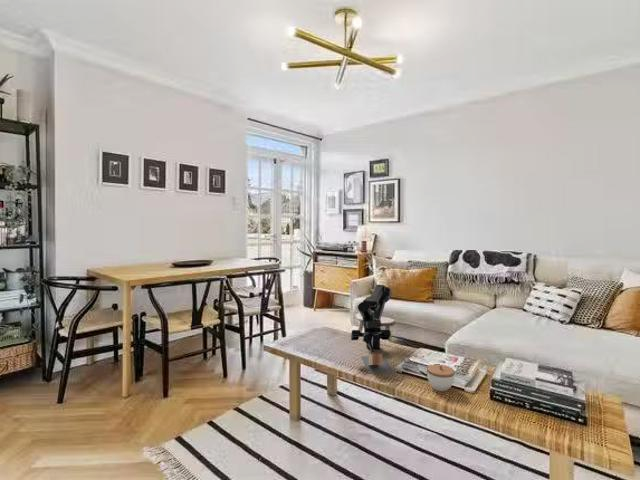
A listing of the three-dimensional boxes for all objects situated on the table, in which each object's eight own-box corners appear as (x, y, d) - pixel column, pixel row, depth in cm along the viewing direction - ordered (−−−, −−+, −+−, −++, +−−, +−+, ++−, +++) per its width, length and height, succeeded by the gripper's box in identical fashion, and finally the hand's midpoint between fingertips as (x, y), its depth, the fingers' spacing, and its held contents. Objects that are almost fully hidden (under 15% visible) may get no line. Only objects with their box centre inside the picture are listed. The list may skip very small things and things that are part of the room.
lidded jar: (435, 379, 158) (435, 358, 157) (459, 388, 150) (459, 365, 150) (421, 387, 151) (422, 365, 150) (445, 396, 143) (446, 373, 142)
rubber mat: (384, 356, 183) (384, 355, 183) (395, 373, 163) (395, 372, 163) (360, 357, 183) (360, 356, 183) (368, 374, 163) (368, 373, 163)
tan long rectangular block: (377, 355, 173) (382, 353, 164) (378, 365, 172) (382, 364, 162) (368, 355, 173) (372, 354, 164) (368, 365, 171) (372, 364, 162)
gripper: (351, 313, 176) (355, 344, 166) (390, 313, 177) (395, 343, 167) (349, 325, 184) (352, 354, 174) (386, 324, 185) (391, 354, 175)
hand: (372, 351), depth 172 cm, fingers closed
